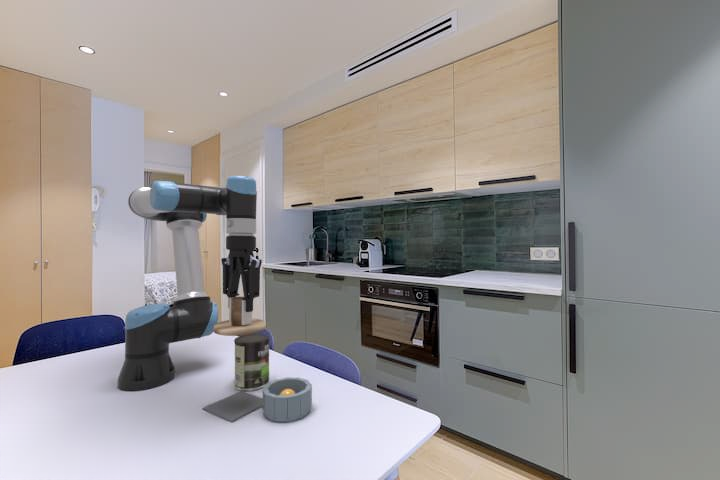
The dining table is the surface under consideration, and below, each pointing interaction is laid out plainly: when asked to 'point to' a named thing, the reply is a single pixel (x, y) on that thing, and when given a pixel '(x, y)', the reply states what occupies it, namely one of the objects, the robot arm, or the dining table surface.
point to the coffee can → (251, 362)
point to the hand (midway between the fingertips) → (240, 322)
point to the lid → (238, 322)
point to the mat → (235, 406)
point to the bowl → (287, 399)
